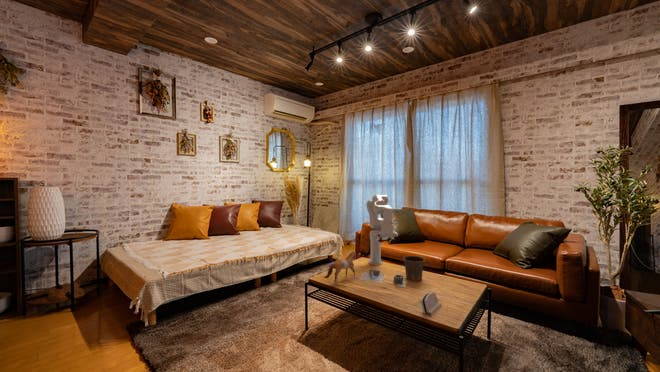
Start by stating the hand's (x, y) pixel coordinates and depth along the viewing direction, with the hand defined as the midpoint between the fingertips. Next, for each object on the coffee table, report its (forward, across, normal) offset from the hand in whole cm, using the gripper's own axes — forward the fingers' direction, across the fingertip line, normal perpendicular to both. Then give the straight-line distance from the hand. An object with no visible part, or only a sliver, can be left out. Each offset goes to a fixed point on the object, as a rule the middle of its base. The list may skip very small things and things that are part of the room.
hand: (387, 243), depth 220 cm
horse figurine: (+28, +31, +24) cm, 48 cm away
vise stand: (+28, +9, +11) cm, 31 cm away
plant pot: (+28, -21, -4) cm, 35 cm away
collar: (+26, -12, +12) cm, 31 cm away
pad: (+27, -12, +12) cm, 32 cm away
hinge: (+26, -37, +43) cm, 62 cm away
